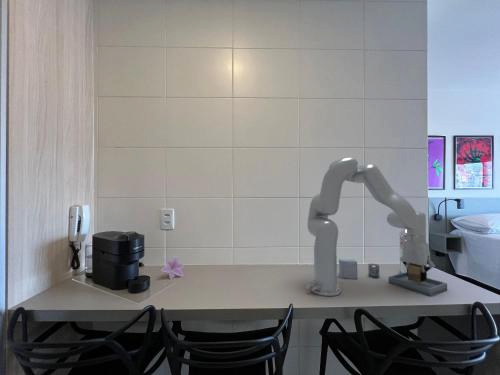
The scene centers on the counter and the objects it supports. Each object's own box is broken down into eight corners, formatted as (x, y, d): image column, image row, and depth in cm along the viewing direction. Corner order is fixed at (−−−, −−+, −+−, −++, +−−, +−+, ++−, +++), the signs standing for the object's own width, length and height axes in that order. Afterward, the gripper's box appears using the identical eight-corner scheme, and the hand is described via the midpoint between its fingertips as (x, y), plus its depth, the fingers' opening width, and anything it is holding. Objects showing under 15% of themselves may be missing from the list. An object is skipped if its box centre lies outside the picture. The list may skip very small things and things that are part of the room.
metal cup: (375, 279, 126) (375, 267, 126) (366, 276, 130) (366, 264, 130) (381, 277, 128) (381, 265, 128) (372, 274, 133) (372, 263, 133)
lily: (156, 282, 125) (162, 267, 122) (159, 266, 135) (165, 252, 133) (180, 287, 129) (187, 272, 126) (181, 271, 139) (187, 257, 137)
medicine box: (354, 276, 130) (354, 259, 130) (357, 279, 126) (357, 261, 126) (338, 275, 131) (338, 258, 131) (341, 278, 127) (341, 261, 127)
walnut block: (419, 282, 113) (419, 267, 113) (408, 279, 117) (407, 264, 117) (425, 280, 115) (425, 265, 115) (414, 277, 119) (413, 262, 119)
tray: (430, 296, 105) (430, 289, 105) (388, 283, 120) (388, 276, 120) (447, 290, 111) (447, 283, 112) (405, 278, 127) (405, 272, 127)
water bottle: (400, 270, 140) (399, 224, 140) (414, 272, 136) (414, 225, 137) (399, 273, 134) (399, 226, 134) (415, 275, 130) (414, 227, 131)
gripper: (393, 236, 122) (393, 274, 122) (432, 242, 107) (433, 286, 107) (402, 235, 126) (402, 272, 125) (441, 241, 111) (442, 282, 110)
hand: (416, 278), depth 116 cm, fingers closed on walnut block, 5 cm apart
